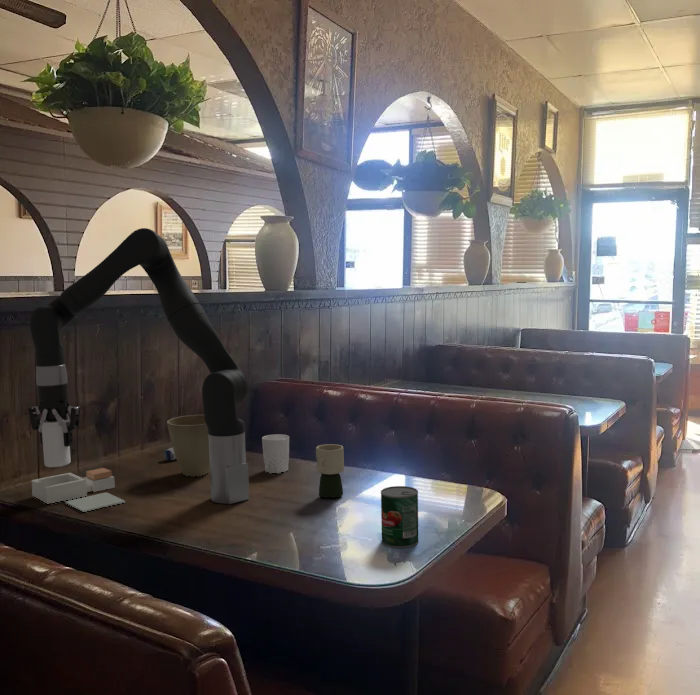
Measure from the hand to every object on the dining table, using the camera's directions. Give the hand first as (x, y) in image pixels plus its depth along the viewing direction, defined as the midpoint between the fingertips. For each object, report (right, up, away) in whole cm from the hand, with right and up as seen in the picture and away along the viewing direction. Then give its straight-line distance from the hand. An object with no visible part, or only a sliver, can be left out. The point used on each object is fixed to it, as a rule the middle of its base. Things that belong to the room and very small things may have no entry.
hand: (56, 445), depth 198 cm
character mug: (+72, -13, -5) cm, 73 cm away
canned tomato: (+88, -16, -38) cm, 97 cm away
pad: (+12, -14, -5) cm, 19 cm away
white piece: (+4, -13, +5) cm, 15 cm away
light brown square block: (+8, -13, +9) cm, 18 cm away
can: (0, -5, +1) cm, 5 cm away
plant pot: (+32, -11, +21) cm, 40 cm away
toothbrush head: (+28, -9, +47) cm, 55 cm away
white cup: (+56, -10, +22) cm, 61 cm away
